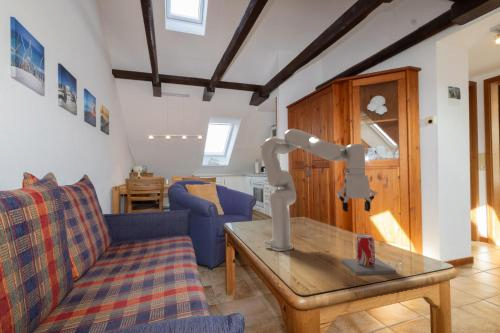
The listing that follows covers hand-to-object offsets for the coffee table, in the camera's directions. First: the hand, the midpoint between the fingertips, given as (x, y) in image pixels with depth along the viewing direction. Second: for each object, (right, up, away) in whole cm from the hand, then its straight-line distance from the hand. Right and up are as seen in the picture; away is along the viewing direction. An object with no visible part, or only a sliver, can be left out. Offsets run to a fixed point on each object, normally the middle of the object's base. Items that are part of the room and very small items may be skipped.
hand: (356, 211), depth 107 cm
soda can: (+2, -22, -4) cm, 22 cm away
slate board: (+3, -23, -4) cm, 23 cm away
